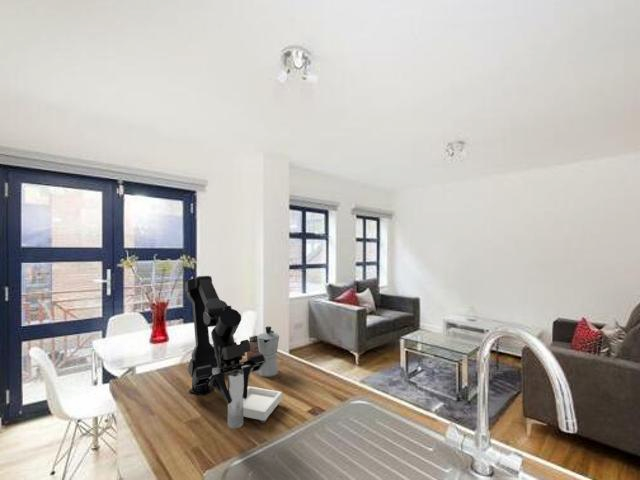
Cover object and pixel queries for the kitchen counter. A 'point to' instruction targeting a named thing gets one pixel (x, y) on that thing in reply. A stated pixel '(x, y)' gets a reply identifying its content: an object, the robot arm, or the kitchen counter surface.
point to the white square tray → (261, 403)
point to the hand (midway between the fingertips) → (237, 400)
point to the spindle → (236, 399)
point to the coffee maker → (268, 352)
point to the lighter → (253, 346)
